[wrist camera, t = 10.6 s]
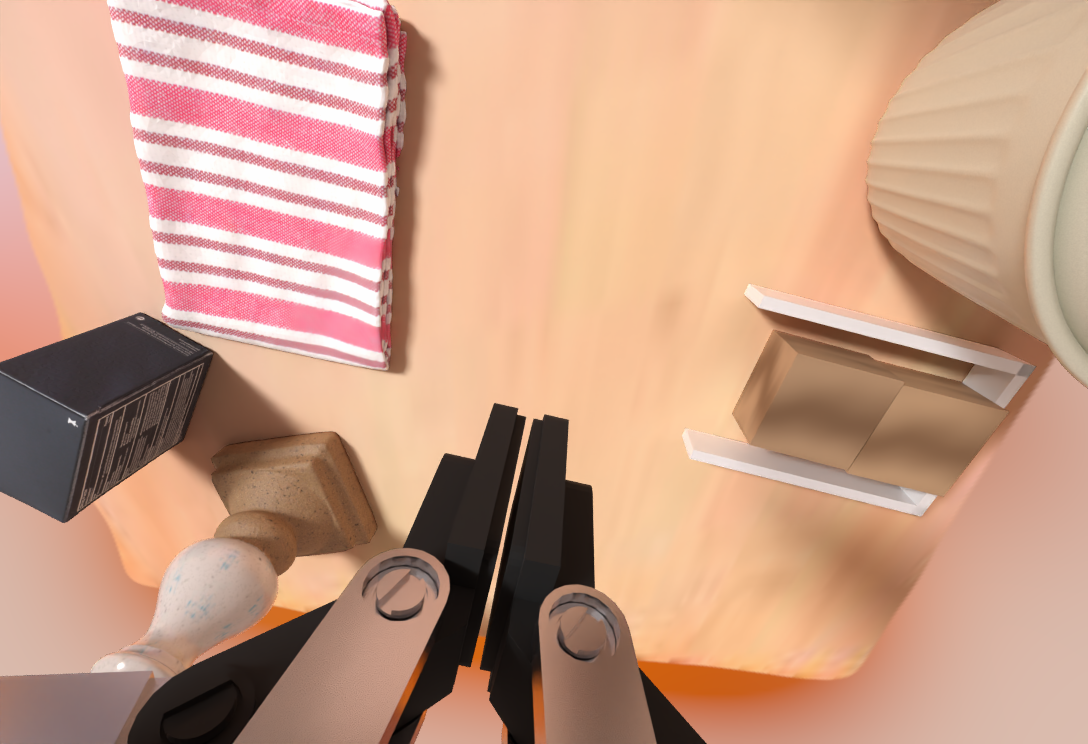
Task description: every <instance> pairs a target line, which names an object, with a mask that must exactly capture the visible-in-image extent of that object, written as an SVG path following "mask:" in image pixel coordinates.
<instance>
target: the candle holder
mask: <svg viewBox="0 0 1088 744" xmlns="http://www.w3.org/2000/svg"><path fill="white" fill-rule="evenodd" d="M211 460H212V463H213V465H214V467H215V469H216V471H215V472H213V473H212V482H213V484H214V486H215V488H216V490H217V492H218V494H219V496H220V498H221V500H222V501H223V503H224V505H225V507H226V509H227V511H228V512H229V514H230V516H229V517H227V518H226V519H225V520H223V521H222V522H221V524H220V525H219V526H218V528H217V530H216V532H215V535H214V538H209V539H204V540H200V541H197V542H195V543H193V544H191V545H189V546H188V547H186V548H184V549H183V550H182V551H181V552H180V553H179V554H178V555H176V556H175V558H174V559H173V560H172V561H171V563H170V564H169V566H168V568H167V569H166V571H165V573H164V576H163V579H162V582H161V585H160V589H159V594H158V599H157V605H156V611H155V614H154V617H153V620H152V622H151V625H150V627H149V629H148V631H147V633H146V634H145V635H144V636H143V637H142V638H141V639H139V640H138V641H136V642H135V643H133V644H131V645H128V646H125V647H123V648H121V649H120V650H119V651H118V652H116V653H110V654H107V655H105V656H103V657H102V658H100V659H99V660H98V661H97V662H96V663H95V664H94V665H93V667H92V669H91V672H90V673H103V672H130V671H153V673H154V677H155V678H164V677H174V676H175V675H177V674H179V673H181V672H182V671H184V670H186V669H188V668H189V667H191V666H192V665H193V663H194V661H195V660H196V659H197V658H198V657H199V656H201V655H202V654H204V653H205V652H207V651H208V650H209V649H211V648H213V647H215V646H216V645H218V644H220V643H222V642H224V641H226V640H228V639H231V638H233V637H235V636H237V635H239V634H241V633H243V632H244V631H246V630H248V629H249V628H251V627H252V626H254V625H255V624H256V623H257V622H259V621H260V620H261V619H262V618H263V617H264V616H265V615H266V614H267V613H268V612H269V610H270V609H271V607H272V606H273V604H274V602H275V600H276V597H277V594H278V577H277V576H279V575H281V574H283V573H284V572H285V571H286V570H288V569H289V567H290V566H291V565H292V564H293V562H294V560H295V557H300V556H310V555H320V554H329V553H336V552H342V551H346V550H348V549H351V548H353V546H354V545H359V544H366V543H369V542H370V540H371V538H372V537H373V535H374V533H375V531H376V530H377V524H376V521H375V519H374V516H373V513H372V511H371V509H370V506H369V504H368V502H367V499H366V497H365V495H364V492H363V490H362V488H361V485H360V483H359V481H358V478H357V476H356V474H355V471H354V469H353V467H352V464H351V462H350V460H349V458H348V455H347V453H346V451H345V448H344V446H343V444H342V442H341V440H340V438H339V436H338V435H337V434H336V433H335V432H319V433H310V434H303V435H295V436H288V437H280V438H273V439H265V440H258V441H250V442H243V443H237V444H232V445H227V446H226V447H224V448H223V449H222V450H221V451H219V452H218V453H217V454H216V455H215V456H214V457H212V458H211Z"/></svg>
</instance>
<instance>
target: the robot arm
mask: <svg viewBox="0 0 1088 744" xmlns="http://www.w3.org/2000/svg"><path fill="white" fill-rule="evenodd" d="M517 412H518V408H514V407H510V406H505V405H501V404H496V403H494V405H493V408H492V411H491V414H490V417H489V420H488V423H487V426H486V429H485V432H484V435H483V438H482V441H481V444H480V447H479V450H478V453H477V456H476V459H475V460H474V459H470V458H465V457H461V456H456V455H452V454H447V453H445V454H444V456H443V458H442V460H441V462H440V464H439V467H438V469H437V471H436V473H435V476H434V478H433V480H432V483H431V485H430V487H429V489H428V492H427V494H426V496H425V499H424V501H423V503H422V505H421V508H420V510H419V512H418V515H417V517H416V519H415V522H414V524H413V526H412V528H411V531H410V533H409V535H408V538H407V540H406V542H405V544H404V547H403V548H398V549H392V550H389V551H385V552H382V553H380V554H378V555H376V556H375V557H373V558H371V559H370V560H368V561H367V562H366V563H365V564H364V565H363V566H362V567H361V568H360V569H359V570H358V572H357V573H356V575H355V576H354V577H353V579H352V580H351V581H350V583H349V584H348V586H347V587H346V588H345V590H344V591H343V592H342V594H341V595H340V597H339V598H338V599H337V600H335V601H332V602H330V603H328V604H326V605H324V606H322V607H319V608H317V609H315V610H313V611H311V612H308V613H306V614H304V615H302V616H300V617H298V618H295V619H293V620H291V621H289V622H287V623H284V624H282V625H280V626H278V627H276V628H274V629H271V630H269V631H267V632H265V633H263V634H261V635H258V636H256V637H254V638H252V639H250V640H247V641H245V642H243V643H241V644H239V645H237V646H235V647H232V648H230V649H228V650H226V651H223V652H221V653H219V654H217V655H215V656H212V657H210V658H208V659H206V660H204V661H202V662H199V663H197V664H195V665H193V666H191V667H189V668H188V669H186V670H184V671H182V672H181V673H179V674H177V675H175V676H174V677H164V678H155V677H154V673H153V671H130V672H103V673H78V674H50V675H24V676H0V744H414V743H415V741H416V738H417V736H418V734H419V731H420V729H421V726H422V724H423V722H424V719H425V716H426V712H427V709H428V708H430V707H431V706H433V705H434V704H435V703H437V702H438V701H440V700H441V699H443V698H444V697H446V696H447V695H449V694H450V693H451V692H452V689H453V685H454V682H455V678H456V674H457V670H458V666H459V665H462V666H466V667H471V663H472V658H473V655H474V651H475V647H476V642H477V638H478V634H479V630H480V626H481V622H482V618H483V614H484V610H485V605H486V601H487V597H488V593H489V589H490V585H491V581H492V577H493V573H494V569H495V564H496V560H497V556H498V551H499V547H500V542H501V537H502V532H503V528H504V523H505V518H506V513H507V508H508V503H509V498H510V493H511V489H512V484H513V479H514V474H515V469H516V464H517V459H518V454H519V450H520V445H521V440H522V435H523V430H524V425H525V420H526V417H524V416H520V415H517ZM568 424H569V420H567V419H563V418H558V417H554V416H549V415H544V417H543V421H542V420H538V419H534V420H533V423H532V427H531V431H530V435H529V439H528V444H527V448H526V452H525V456H524V460H523V464H522V468H521V472H520V476H519V480H518V484H517V488H516V492H515V496H514V500H513V504H512V508H511V513H510V517H509V522H508V527H507V532H506V537H505V542H504V547H503V553H502V558H501V563H500V568H499V573H498V578H497V583H496V588H495V593H494V599H493V604H492V609H491V614H490V619H489V624H488V629H487V634H486V640H485V645H484V650H483V655H482V661H481V666H480V669H481V670H486V671H490V672H491V673H490V679H489V685H488V692H490V698H489V701H490V702H491V704H492V705H493V707H494V708H495V710H496V712H497V713H498V715H499V716H500V718H501V720H502V721H503V728H502V739H501V740H502V741H501V743H502V744H706V743H705V741H704V740H703V739H702V738H701V737H700V736H699V735H698V734H697V732H696V731H695V730H694V729H693V728H692V727H691V726H690V724H689V723H688V722H687V721H686V720H685V719H684V718H683V717H682V716H681V714H680V713H679V712H678V711H677V710H676V709H675V708H674V706H673V705H672V704H671V703H670V702H669V701H668V700H667V699H666V697H665V696H664V695H663V694H662V693H661V692H660V691H659V689H658V688H657V687H656V686H655V685H654V684H653V683H652V682H651V680H650V679H649V678H648V677H647V676H646V675H645V674H644V673H643V671H642V670H641V669H640V668H639V667H638V663H637V659H636V655H635V651H634V646H633V642H632V638H631V634H630V630H629V627H628V624H627V622H626V619H625V616H624V614H623V613H622V612H621V610H620V609H619V608H618V606H617V605H616V603H614V602H613V601H612V600H611V599H610V598H609V597H607V596H606V595H605V594H604V593H602V592H600V591H598V590H596V589H595V581H594V535H593V492H592V487H591V485H586V484H582V483H578V482H573V481H569V480H565V478H566V460H567V442H568Z"/></svg>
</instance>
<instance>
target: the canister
mask: <svg viewBox="0 0 1088 744" xmlns="http://www.w3.org/2000/svg"><path fill="white" fill-rule="evenodd" d="M867 166H868V170H867V177H866V179H865V182H866V184H867V186H868V195H867V200H868V202H869V203H870V205H871V209H872V211H871V213H872V217H873V218H874V220H875V221H877V223H878V227H879V230H880V232H881V234H882V235H883V236H885V237H886V238H887V239H888V241H889V243H890V244H891V246H892V247H893V248H894V249H895V250H896V251H898V252H899V253H900V254H902V255H903V256H904V257H905V258H906V259H907V260H909V261H910V262H911V263H912V264H914V265H915V266H917V267H918V268H920V269H922V270H923V271H925V272H926V273H928V274H929V275H931V276H932V277H934V278H935V279H937V280H939V281H940V282H942V283H943V284H945V285H946V286H948V287H950V288H951V289H953V290H955V291H956V292H958V293H960V294H961V295H963V296H965V297H966V298H968V299H970V300H971V301H973V302H975V303H977V304H978V305H980V306H982V307H984V308H985V309H987V310H989V311H990V312H992V313H994V314H996V315H997V316H999V317H1001V318H1003V319H1004V320H1006V321H1008V322H1009V323H1011V324H1013V325H1014V326H1016V327H1018V328H1019V329H1021V330H1023V331H1024V332H1026V333H1028V334H1029V335H1031V336H1033V337H1034V338H1036V339H1038V340H1040V341H1042V342H1044V343H1045V344H1047V345H1048V346H1049V348H1050V350H1051V351H1052V353H1053V354H1054V355H1055V357H1056V358H1057V360H1058V361H1059V362H1060V363H1061V365H1062V366H1063V367H1064V368H1065V369H1066V370H1067V371H1068V372H1069V373H1070V374H1071V375H1072V376H1073V377H1074V378H1075V379H1076V380H1078V381H1079V382H1080V383H1081V384H1082V385H1084V386H1085V387H1086V388H1088V0H1000V1H999V2H997V3H995V4H993V5H991V6H990V7H988V8H986V9H984V10H983V11H981V12H980V13H978V14H976V15H975V16H973V17H972V18H971V19H969V20H968V21H967V22H966V23H965V24H964V25H963V26H961V27H959V28H958V29H956V30H955V31H953V32H951V33H950V34H949V35H947V36H946V37H945V38H944V39H943V40H942V41H941V42H940V43H939V44H938V45H937V47H936V48H935V49H934V50H932V51H931V52H930V53H928V54H927V55H925V56H924V57H923V58H922V59H921V60H920V62H919V63H918V65H917V67H916V68H915V69H914V71H913V72H912V73H911V74H909V75H908V76H907V77H906V78H905V79H904V80H903V82H902V83H901V86H900V88H899V90H898V91H897V93H896V94H895V95H894V96H893V97H892V98H891V99H890V100H889V102H888V107H887V109H886V111H885V113H884V115H883V117H882V118H881V119H880V120H879V122H878V128H877V131H876V133H875V136H874V138H873V140H872V141H871V151H870V155H869V158H868V159H867Z"/></svg>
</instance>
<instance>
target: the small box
mask: <svg viewBox="0 0 1088 744" xmlns="http://www.w3.org/2000/svg"><path fill="white" fill-rule="evenodd" d="M212 356H213V353H212V352H211V351H210V350H208V349H207V348H205V347H203V346H200V345H199V344H197V343H195V342H193V341H192V340H190V339H188V338H186V337H184V336H183V335H181V334H179V333H177V332H175V331H174V330H172V329H170V328H169V327H167V326H165V325H163V324H162V323H161V322H158V321H157V320H155V319H153V318H151V317H149V316H147V315H145V314H143V313H141V312H140V313H137V314H135V315H132V316H129V317H126V318H124V319H121V320H118V321H115V322H112V323H110V324H107V325H104V326H101V327H98V328H96V329H93V330H90V331H87V332H85V333H82V334H79V335H76V336H73V337H71V338H68V339H65V340H62V341H60V342H56V343H53V344H51V345H48V346H45V347H42V348H39V349H37V350H34V351H31V352H28V353H25V354H22V355H20V356H17V357H14V358H12V359H9V360H6V361H3V362H0V492H2V493H4V494H7V495H8V496H11V497H13V498H15V499H17V500H19V501H21V502H23V503H25V504H28V505H29V506H31V507H33V508H35V509H37V510H39V511H41V512H43V513H45V514H47V515H48V516H51V517H52V518H54V519H56V520H59V521H60V522H62V523H65V522H68V521H69V520H70V519H72V518H73V517H74V516H76V515H77V514H78V513H79V512H80V511H82V510H83V509H85V508H86V507H87V506H88V505H90V504H91V503H92V502H94V501H95V500H97V499H98V498H99V497H101V496H102V495H104V494H105V493H106V492H108V491H109V490H111V489H112V488H113V487H115V486H117V485H118V484H120V483H121V482H122V481H124V480H125V479H127V478H128V477H130V476H131V475H132V474H134V473H135V472H137V471H138V470H140V469H141V468H143V467H144V466H146V465H147V464H148V463H150V462H151V461H153V460H154V459H156V458H157V457H159V456H160V455H161V454H163V453H165V452H166V451H168V450H169V449H171V448H172V447H174V446H175V445H177V444H179V443H180V442H182V441H183V439H184V436H185V434H186V431H187V428H188V425H189V422H190V419H191V416H192V414H193V411H194V408H195V405H196V402H197V399H198V397H199V394H200V391H201V388H202V385H203V382H204V379H205V376H206V374H207V371H208V368H209V364H210V362H211V359H212Z"/></svg>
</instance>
